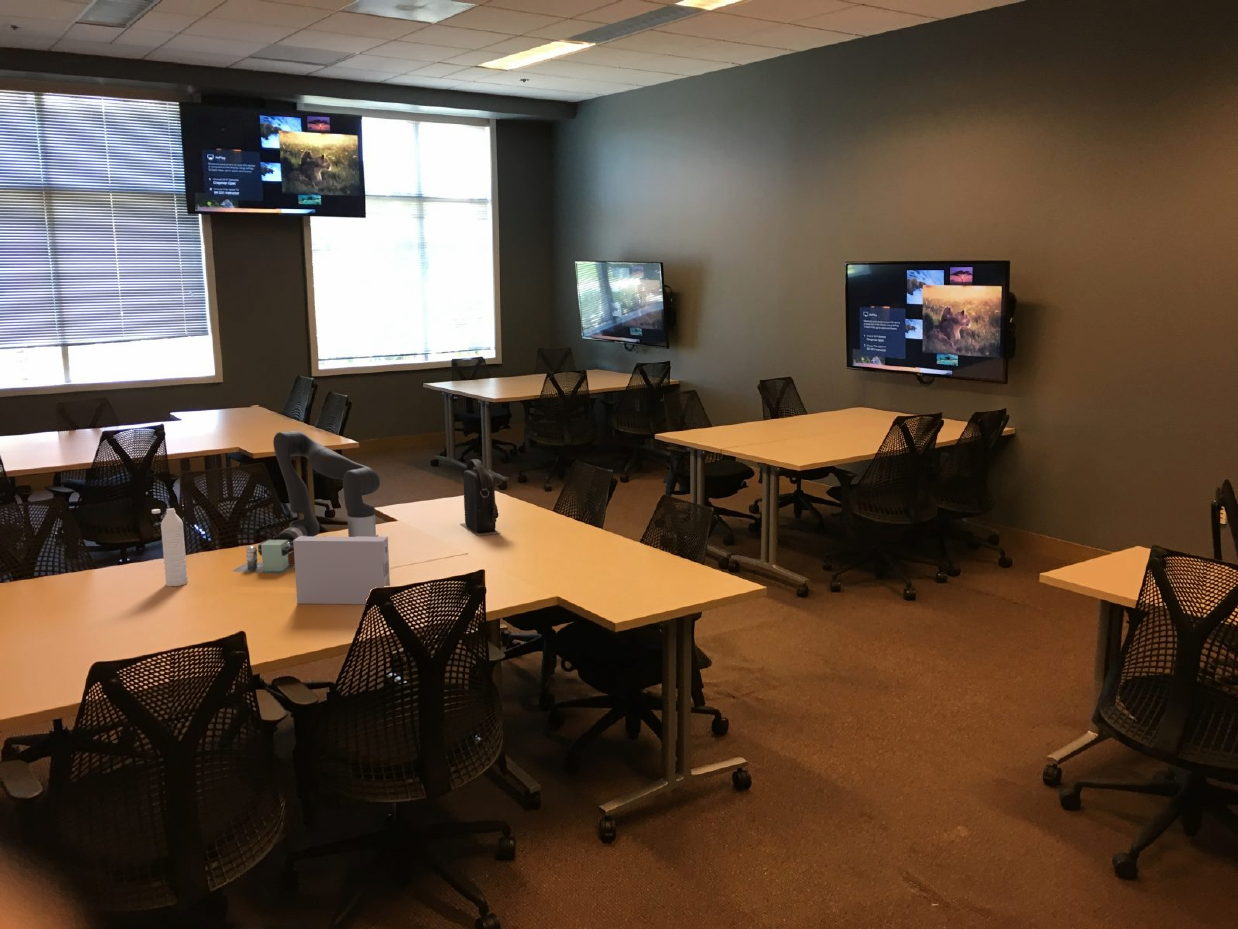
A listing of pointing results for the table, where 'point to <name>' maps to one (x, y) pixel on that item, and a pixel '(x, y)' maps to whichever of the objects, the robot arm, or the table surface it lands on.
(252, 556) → the post stand
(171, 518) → the water bottle
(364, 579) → the game console
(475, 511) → the shoulder bag
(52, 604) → the table surface
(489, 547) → the table surface
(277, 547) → the pale green block
